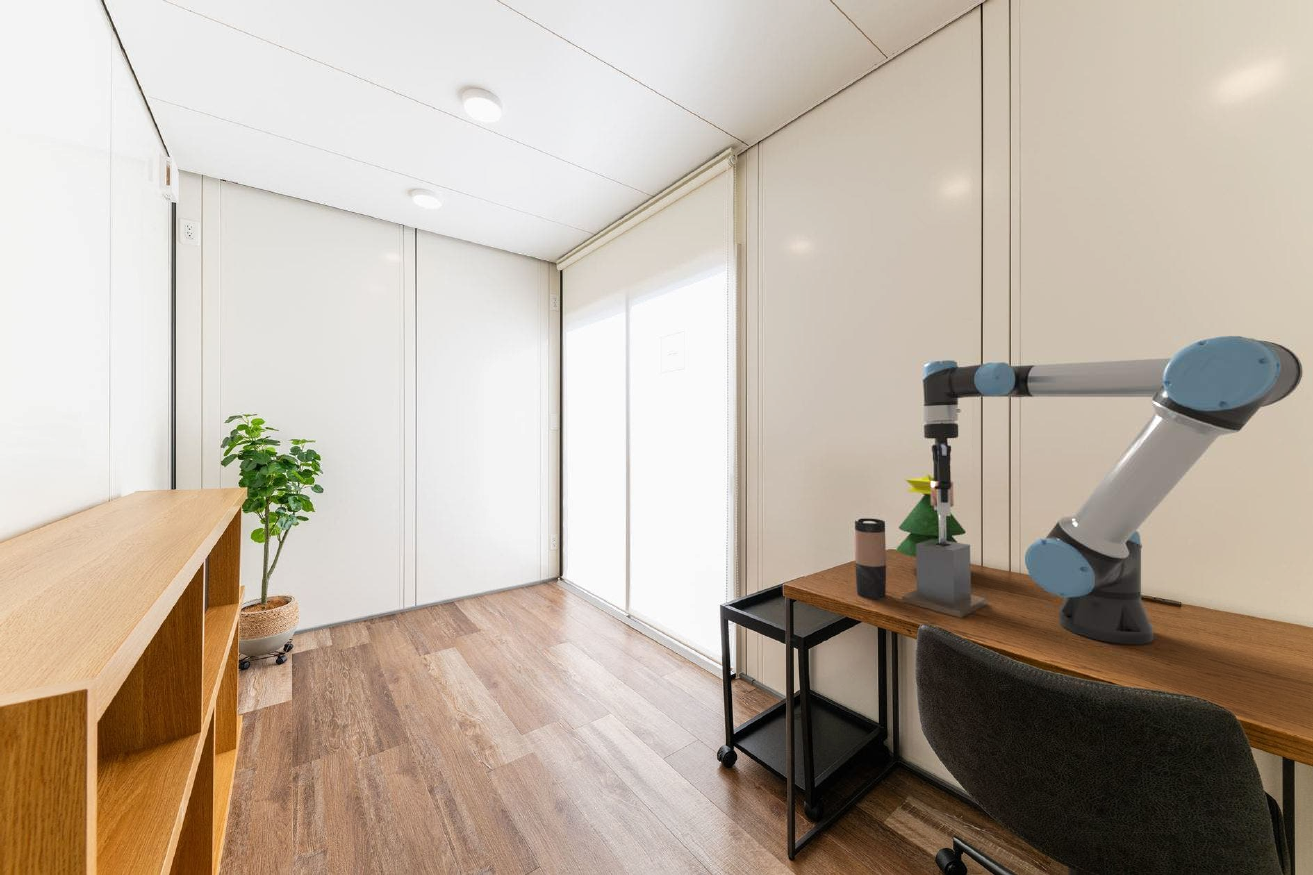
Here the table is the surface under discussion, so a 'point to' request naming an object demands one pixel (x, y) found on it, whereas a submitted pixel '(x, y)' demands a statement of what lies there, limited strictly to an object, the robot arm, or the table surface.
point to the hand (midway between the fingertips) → (942, 512)
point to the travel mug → (870, 558)
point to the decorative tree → (925, 520)
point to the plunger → (941, 518)
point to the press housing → (944, 579)
